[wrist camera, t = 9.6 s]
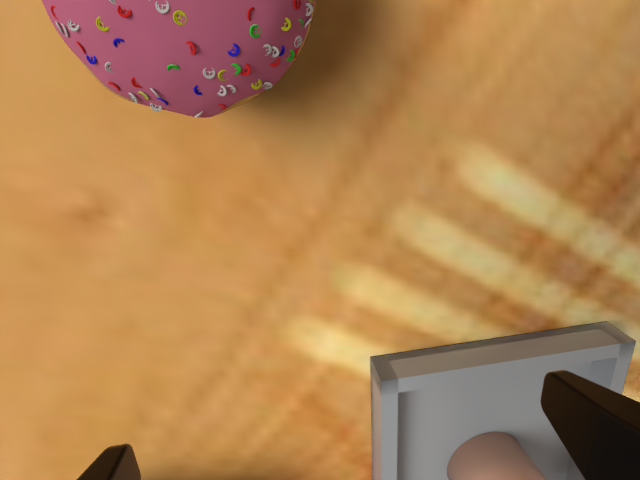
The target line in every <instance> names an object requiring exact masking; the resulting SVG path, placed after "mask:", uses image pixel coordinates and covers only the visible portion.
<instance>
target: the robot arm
mask: <svg viewBox="0 0 640 480" xmlns="http://www.w3.org/2000/svg"><path fill="white" fill-rule="evenodd" d="M540 401H541V407H542V410H543V412H544V414H545V415H546V417H547V419H548V420H549V422H550V424H551V425H552V427H553V428H554V430H555V432H556V433H557V435H558V437H559V438H560V440H561V442H562V443H563V445H564V447H565V448H566V450H567V452H568V453H569V455H570V456H571V458H572V460H573V461H574V463H575V465H576V466H577V468H578V469H579V471H580V473H581V474H582V476H583V477H584V479H585V480H640V402H637V401H635V400H633V399H631V398H628V397H626V396H624V395H621V394H619V393H617V392H615V391H612V390H610V389H608V388H606V387H603V386H601V385H599V384H597V383H594V382H592V381H590V380H588V379H585V378H583V377H581V376H578V375H576V374H574V373H572V372H569V371H567V370H558V371H552V372H548V373H547V374H546V375H545V377H544V382H543V388H542V394H541V400H540ZM77 480H141V475H140V470H139V467H138V464H137V461H136V458H135V455H134V451H133V449H132V446H131V445H129V444H122V445H116V446H111V447H108V448H107V449H105V450H104V451H103V452H102V453H101V454H100V455H99V456H98V458H97V459H96V460H95V461H94V462H93V463H92V464H91V465H90V466H89V467H88V468H87V469H86V470H85V471H84V472H83V473H82V475H81V476H80V477H79V478H78V479H77Z"/></svg>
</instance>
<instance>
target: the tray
mask: <svg viewBox="0 0 640 480" xmlns="http://www.w3.org/2000/svg"><path fill="white" fill-rule="evenodd" d="M635 342H636V341H635V340H633V339H632V338H630V337H629V336H627V335H626V334H624V333H623V332H621V331H620V330H618V329H617V328H615V327H614V326H612V325H610V324H609V323H607V322H600V323H594V324H587V325H580V326H574V327H567V328H560V329H554V330H547V331H540V332H534V333H527V334H520V335H514V336H507V337H500V338H494V339H487V340H480V341H474V342H467V343H461V344H454V345H447V346H441V347H434V348H427V349H421V350H414V351H407V352H401V353H394V354H387V355H381V356H374V357H370V363H371V425H372V480H449V479H448V477H447V466H448V463H449V460H450V458H451V457H452V455H453V454H454V452H455V451H456V450H457V449H458V448H459V447H460V446H461V445H462V444H464V443H465V442H466V441H468V440H470V439H471V438H473V437H475V436H478V435H481V434H484V433H488V432H504V433H507V434H510V435H511V436H513V437H514V438H515V439H516V440H517V441H518V442H519V444H520V445H521V446H522V448H523V449H524V450H525V452H526V453H527V454H528V456H529V457H530V458H531V459H532V461H533V462H534V463H535V465H536V466H537V467H538V469H539V470H540V471H541V473H542V474H543V475H544V477H545V478H546V479H547V480H585V479H584V477H583V476H582V474H581V473H580V471H579V469H578V468H577V466H576V465H575V463H574V461H573V460H572V458H571V456H570V455H569V453H568V452H567V450H566V448H565V447H564V445H563V443H562V442H561V440H560V438H559V437H558V435H557V433H556V432H555V430H554V428H553V427H552V425H551V424H550V422H549V420H548V419H547V417H546V415H545V414H544V412H543V410H542V407H541V401H540V400H541V394H542V388H543V382H544V377H545V375H546V374H547V373H548V372H552V371H558V370H567V371H569V372H572V373H574V374H576V375H578V376H581V377H583V378H585V379H588V380H590V381H592V382H594V383H597V384H599V385H601V386H603V387H606V388H608V389H610V390H612V391H615V392H617V393H619V394H622V390H623V387H624V383H625V379H626V376H627V372H628V368H629V365H630V361H631V357H632V354H633V350H634V346H635Z"/></svg>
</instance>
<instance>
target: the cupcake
mask: <svg viewBox="0 0 640 480" xmlns="http://www.w3.org/2000/svg"><path fill="white" fill-rule="evenodd" d="M42 2H43V4H44V6H45V9H46V11H47V13H48V16H49V18H50V20H51V21H52V23H53V25H54V27H55V28H56V30H57V31H58V33H59V34H60V36H61V37H62V39H63V40H64V41H65V43H66V44H67V45H68V46H69V48H70V49H71V50H72V51H73V52H74V53H75V54H76V56H77V57H78V58H79V59H80V60H81V62H82V63H83V64H84V66H85V67H86V68H87V69H88V70H89V72H90V73H91V74H92V75H93V76H94V77H95V78H96V79H97V80H98V81H99V82H100V83H101V84H102V85H103V86H104V87H105V88H107V89H108V90H109V91H111V92H112V93H114V94H116V95H118V96H119V97H122V98H124V99H126V100H129V101H132V102H135V103H139V104H143V105H146V106H150V107H151V108H152V109H153V110H154V111H160V110H161V109H163V110H168V111H172V112H176V113H180V114H184V115H188V116H193V117H212V116H215V115H217V114H220V113H223V112H225V111H227V110H230V109H232V108H234V107H237V106H239V105H241V104H243V103H245V102H247V101H249V100H250V99H252V98H254V97H255V96H257V95H259V94H260V93H262V92H263V91H265V90H267V89H270V88H272V86H273V85H274V84H276V83H277V82H278V81H279V80H280V78H281V77H282V76H283V75H284V73H285V72H286V71H287V69H288V68H289V67H290V66H291V64H292V63H293V62H294V60H295V59H296V57H297V56H298V54H299V53H300V51H301V49H302V47H303V45H304V42H305V40H306V38H307V35H308V32H309V29H310V26H311V22H312V18H313V14H314V9H315V3H316V0H42ZM156 108H159V109H156Z"/></svg>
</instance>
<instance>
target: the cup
mask: <svg viewBox="0 0 640 480" xmlns="http://www.w3.org/2000/svg"><path fill="white" fill-rule="evenodd" d="M447 477H448V479H449V480H547V479H546V478H545V477H544V475H543V474H542V473H541V471H540V470H539V469H538V467H537V466H536V465H535V463H534V462H533V461H532V459H531V458H530V457H529V456H528V454H527V453H526V452H525V450H524V449H523V448H522V446H521V445H520V444H519V442H518V441H517V440H516V439H515V438H514V437H513V436H511V435H510V434H507V433H504V432H488V433H484V434H481V435H478V436H475V437H473V438H471V439H470V440H468V441H466V442H465V443H464V444H462V445H461V446H460V447H459V448H458V449H457V450H456V451H455V452H454V454H453V455H452V457H451V458H450V460H449V463H448V466H447Z"/></svg>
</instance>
